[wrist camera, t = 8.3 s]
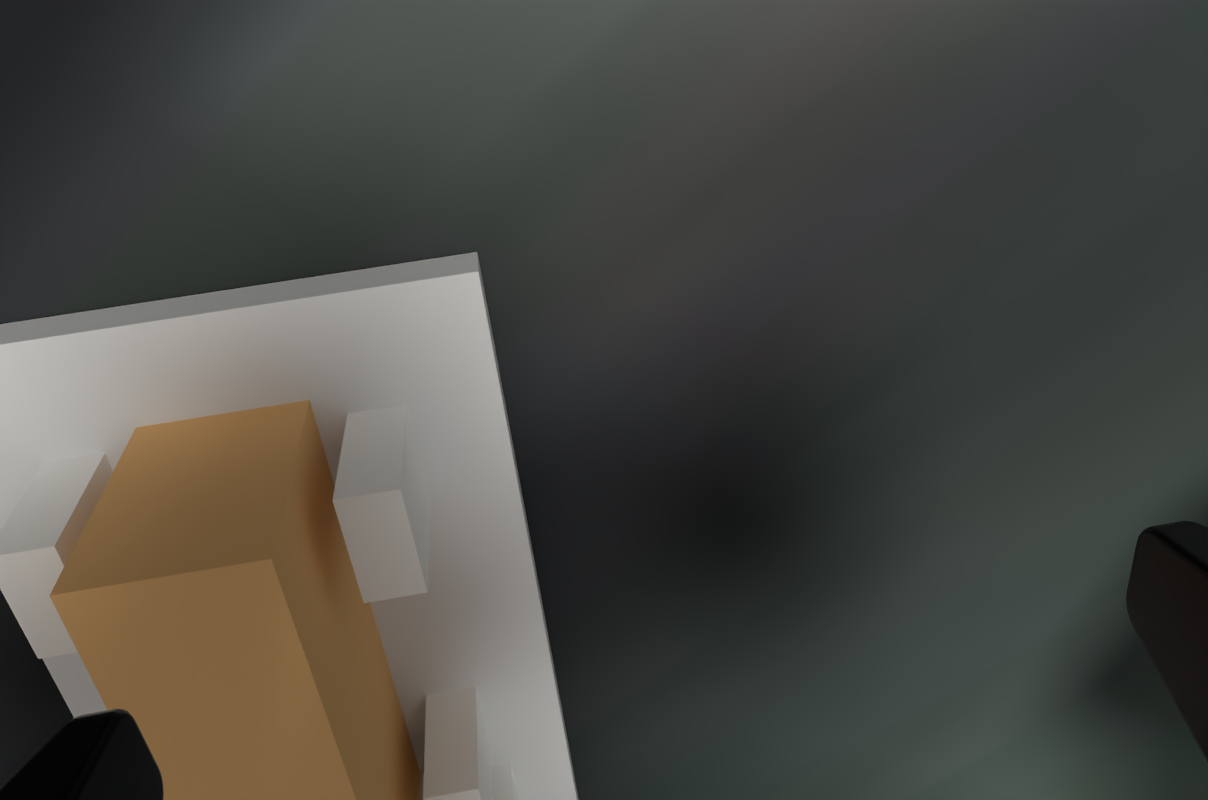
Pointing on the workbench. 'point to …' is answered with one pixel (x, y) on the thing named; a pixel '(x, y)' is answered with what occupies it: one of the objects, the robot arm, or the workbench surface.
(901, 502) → the workbench surface
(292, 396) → the board
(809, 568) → the workbench surface
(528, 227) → the workbench surface
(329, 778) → the two-tone rectangular block
